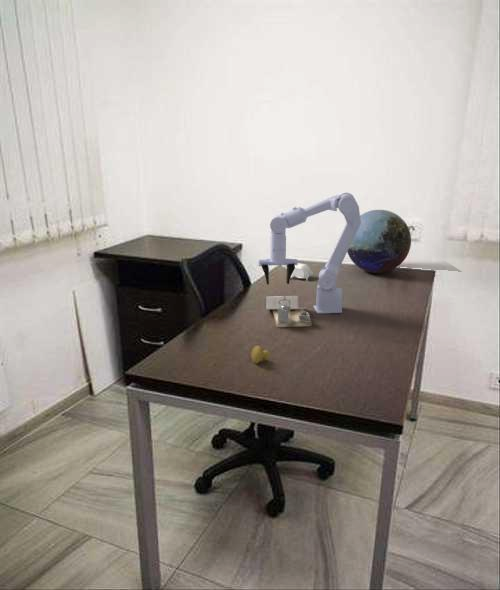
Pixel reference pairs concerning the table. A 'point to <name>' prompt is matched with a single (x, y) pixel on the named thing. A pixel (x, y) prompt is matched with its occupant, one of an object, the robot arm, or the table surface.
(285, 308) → the hinge block
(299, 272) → the white rounded lump
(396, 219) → the decorative globe
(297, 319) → the beige piece
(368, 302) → the table surface
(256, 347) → the knob
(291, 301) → the ink cartridge box
